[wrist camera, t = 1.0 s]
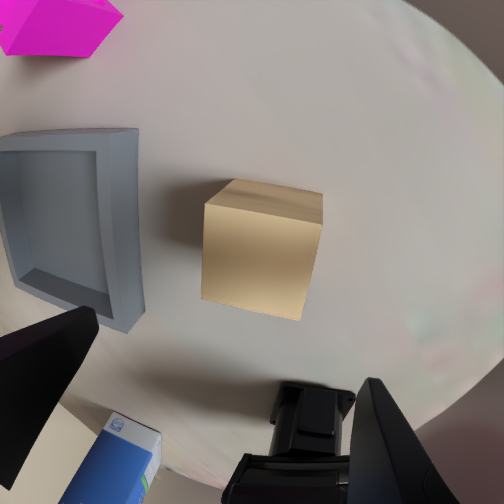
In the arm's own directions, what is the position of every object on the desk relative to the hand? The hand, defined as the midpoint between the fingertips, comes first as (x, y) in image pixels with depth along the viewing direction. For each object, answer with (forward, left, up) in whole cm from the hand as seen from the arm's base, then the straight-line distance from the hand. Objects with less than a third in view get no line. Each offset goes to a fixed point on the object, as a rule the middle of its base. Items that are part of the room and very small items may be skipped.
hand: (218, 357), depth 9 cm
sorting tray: (-2, +16, -11) cm, 19 cm away
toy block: (+16, +19, -11) cm, 27 cm away
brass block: (0, 0, -11) cm, 11 cm away
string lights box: (-36, +14, -11) cm, 40 cm away
